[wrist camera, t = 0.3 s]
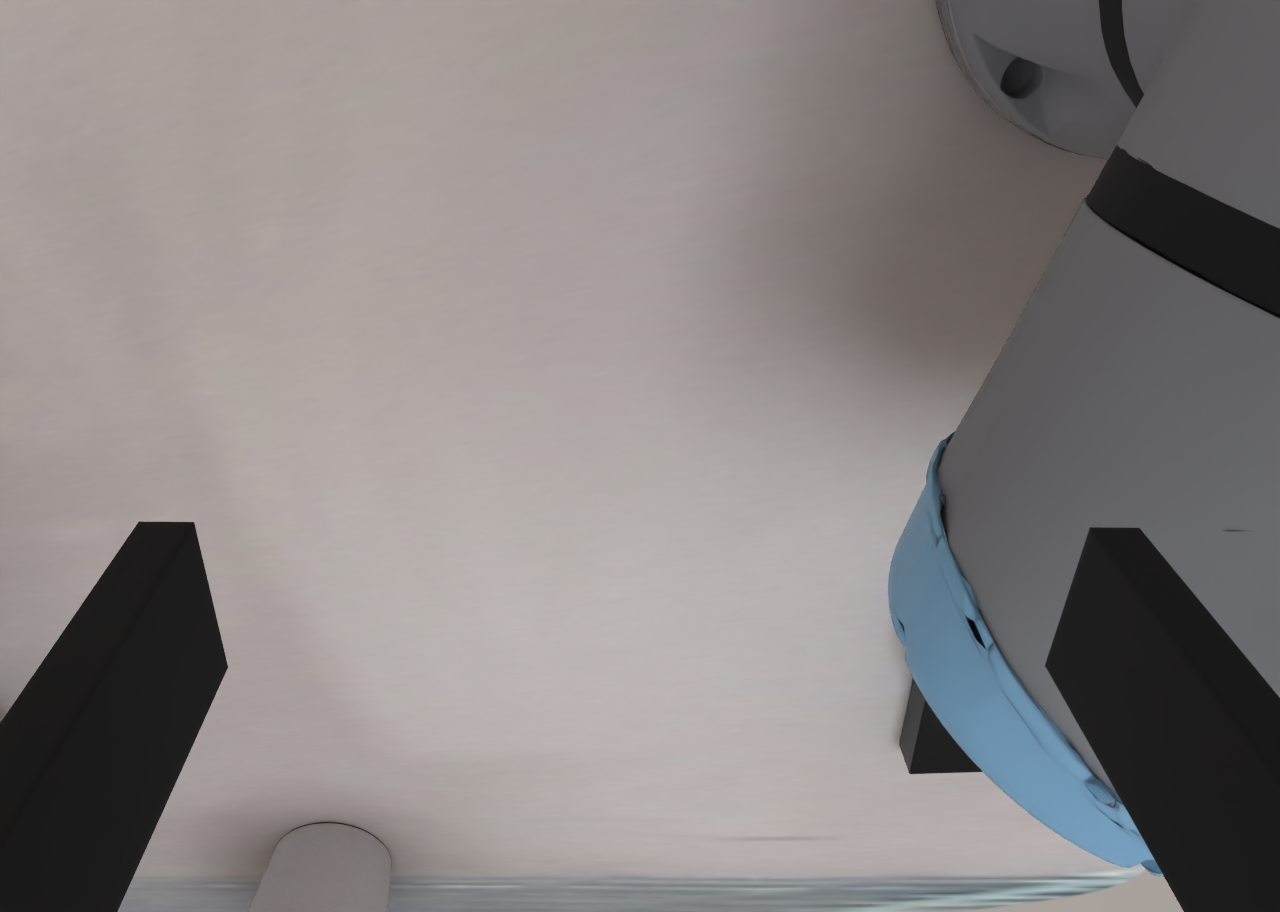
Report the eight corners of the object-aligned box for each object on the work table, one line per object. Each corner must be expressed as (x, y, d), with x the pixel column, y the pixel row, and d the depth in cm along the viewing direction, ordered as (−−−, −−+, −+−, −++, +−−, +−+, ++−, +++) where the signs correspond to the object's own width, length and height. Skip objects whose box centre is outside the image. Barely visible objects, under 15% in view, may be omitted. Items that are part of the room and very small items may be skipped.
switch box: (929, 530, 46) (957, 584, 42) (1153, 526, 46) (1199, 580, 43) (886, 745, 53) (907, 806, 50) (1081, 740, 54) (1115, 800, 50)
